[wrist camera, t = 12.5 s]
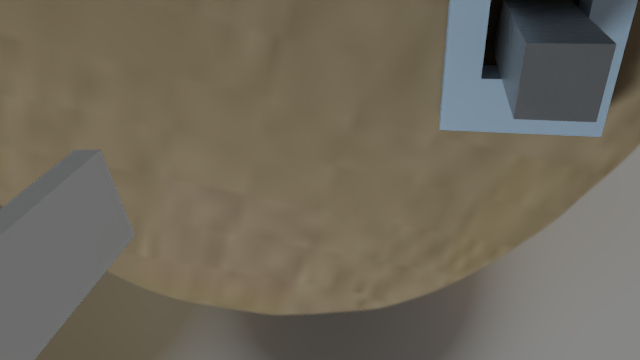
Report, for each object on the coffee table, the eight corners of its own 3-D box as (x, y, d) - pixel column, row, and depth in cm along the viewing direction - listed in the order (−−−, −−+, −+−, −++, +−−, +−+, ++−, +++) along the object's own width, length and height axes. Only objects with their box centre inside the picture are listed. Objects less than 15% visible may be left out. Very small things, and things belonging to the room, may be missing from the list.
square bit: (501, -6, 34) (526, 43, 24) (563, -6, 33) (616, 44, 23) (493, 52, 36) (513, 119, 26) (552, 53, 35) (596, 122, 25)
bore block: (456, -86, 32) (457, -83, 30) (643, -94, 30) (662, -92, 27) (439, 113, 39) (439, 129, 37) (590, 119, 37) (600, 136, 35)
